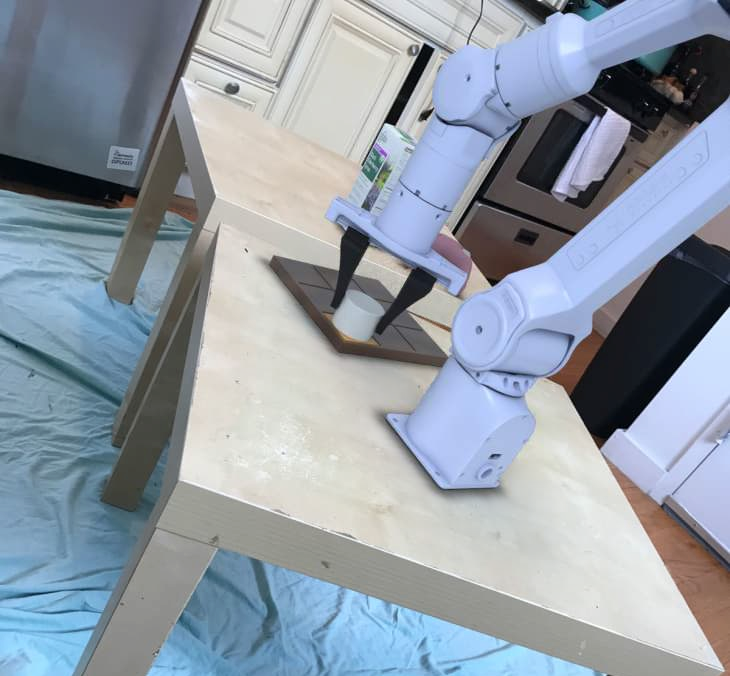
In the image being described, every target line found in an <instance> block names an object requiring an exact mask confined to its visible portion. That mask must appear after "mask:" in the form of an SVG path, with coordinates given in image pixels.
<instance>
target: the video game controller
mask: <svg viewBox="0 0 730 676" xmlns="http://www.w3.org/2000/svg"><path fill="white" fill-rule="evenodd" d="M431 249H433V250H434V251H435V252H437V253H438V254H439V255H441V256H442V257H443V258H445V259H446V260H447V261H449V262H450V263H452V264H453V265H454V266H456V267H457V268H459V269H460V270H462V271H463V272H465V273H467V279H466V281H465V283H464V284H463V286H462V287H461V289H460V291H459V292H458V294H457V295H456V296H460V295H461V294H462V293H463V292H464V290H465V289H466V287H467V284H468V282H469V280H470V276H471V272H472V268H473V260H472V257H471V252H469V251H468V250H467V249H466V248H464V247H463V245H462V244H461V243H460V242H458V241H457V240H455V239H454V238H452V237H450V236H448V235H447V234H445V233H441V232H440V233H439V235H438V236H437V238H436V240H435V241H434V243H433V245H432V247H431ZM403 264H404V267H405V268H407V269H408V268H409V267H410V266H409V265H407V264H405V263H404V262H403ZM410 268H411V267H410Z"/></svg>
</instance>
